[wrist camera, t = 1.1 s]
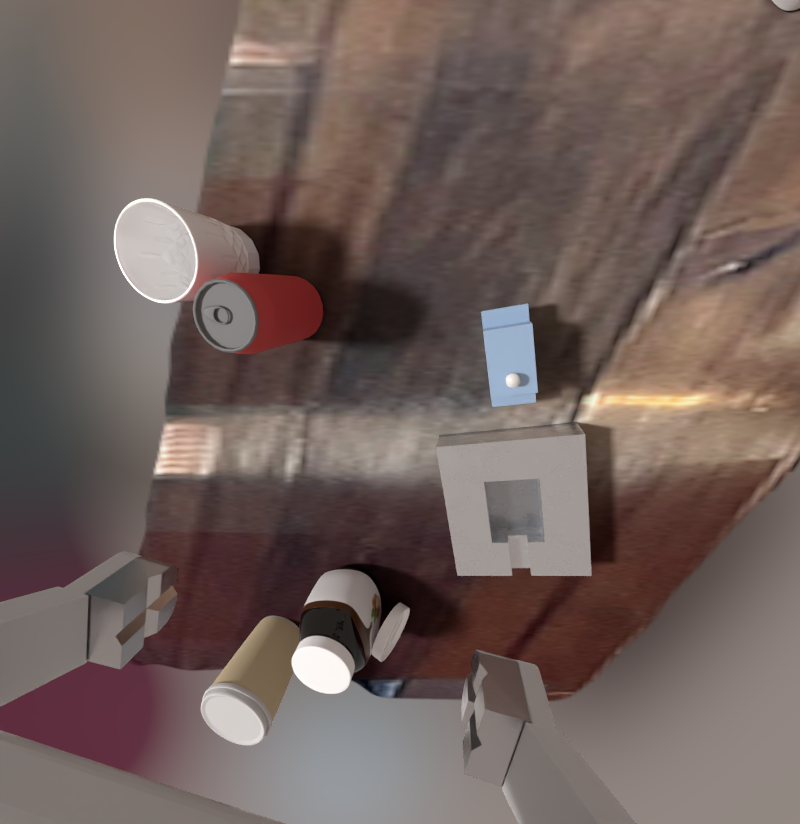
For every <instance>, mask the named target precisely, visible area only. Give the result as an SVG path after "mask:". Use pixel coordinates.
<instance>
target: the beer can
mask: <svg viewBox="0 0 800 824" xmlns="http://www.w3.org/2000/svg"><path fill="white" fill-rule="evenodd" d="M193 313H194V320H195V323H196V325H197V328H198V330H199V332H200V333H201V335H202V336H203V337H204V339H205V340H206V341H207V342H208V343H209V344H211V345H212V346H213V347H214V348H216V349H219V350H221V351H224V352H233V353H240V354H254V353H258V352H261V351H265V350H268V349H272V348H275V347H279V346H282V345H285V344H289V343H292V342H296V341H299V340H303V339H306V338H309V337H310V336H311V335H313V334H314V333H315V332H316V331H317V329H318V328H319V326H320V325H321V321H322V317H323V304H322V301H321V298H320V295H319V293H318V292H317V290H316V289H315V288H314V286H313V285H312V284H310V283H309V282H308V281H307V280H306V279H303V278H300V277H298V276H289V275H272V274H256V273H233V272H231V273H228V274H225V275H223V276H220V277H218V278H216V279H213V280H210V281H207V282H205V283H204V284H203V285H202V286H201V287H200V288H199V289H198V292H197V294H196V296H195V298H194V305H193Z"/></svg>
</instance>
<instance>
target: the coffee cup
mask: <svg viewBox="0 0 800 824" xmlns="http://www.w3.org/2000/svg"><path fill="white" fill-rule="evenodd" d="M298 645H299V628H298V626H297V625H295V624H294V623H293V622H292V621H290V620H288V619H286V618H284V617H280V616H268V617H265V618H264V619H262V620H261V621H260V623H259V624H258V625H257V626H256V628H255V629H254V630H253V631H252V633H251V634H250V635H249V637H248V638H247V639H246V641H245V642H244V643H243V644H242V646H241V647H240V648H239V650H238V651H237V652H236V654H235V655H234V656H233V658H232V659H231V660H230V661H229V663H228V664H227V665H226V667H225V668H224V669H223V671H222V672H221V674H220V675H219V676H218V677H217V679H216V680H215V682H214V683H213V684H212V686H210V687H209V688H208V689H207V690H206V692H205V694H204V696H203V699H202V703H201V712H202V716H203V718H204V720H205V722H206V723H207V724H208V725H209V727H210V728H212V730H213V731H214V732H216V733H217V734H218V735H220V736H222V737H223V738H225V739H226V740H228V741H231V742H233V743H237V744H240V745H253V744H256V743H258V742H260V741H261V740H262V739H263V738H264V737H265V736H266V735H267V734H268V733H269V731H270V728H271V726H272V721H273V719H274V717H275V714H276V712H277V710H278V707H279V705H280V703H281V700H282V698H283V696H284V693H285V691H286V688H287V686H288V684H289V681H290V679H291V676H292V674H293V672H294V671H293V668H292V656H293V654H294V653H295V651H296V649H297V647H298Z"/></svg>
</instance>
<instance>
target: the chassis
mask: <svg viewBox="0 0 800 824" xmlns="http://www.w3.org/2000/svg"><path fill="white" fill-rule="evenodd" d="M436 450H437V456H438V462H439V468H440V474H441V480H442V485H443V491H444V497H445V503H446V509H447V515H448V521H449V527H450V533H451V539H452V545H453V551H454V557H455V563H456V569H457V575H458V576H512V569H511V568H530V571H531V576H591V553H590V530H589V508H588V485H587V462H586V440H585V433H584V432H583V430H582V429H581V427H580V426H579V424H578V423H577V422H576V423H565V424H555V425H544V426H534V427H523V428H513V429H502V430H492V431H481V432H471V433H460V434H450V435H439V439H438V442H437V446H436Z"/></svg>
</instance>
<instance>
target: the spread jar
mask: <svg viewBox="0 0 800 824" xmlns="http://www.w3.org/2000/svg"><path fill="white" fill-rule="evenodd" d="M409 613H410V609H409V608H408V607H407V606H405V605H404V604H402V603H401V602H400V603H398V604H397V605H396V606H395V607H394V608H393V609H392V610H391V612H390V613H389V615H388V616H387V618H386V619H385V621H384V623H383V624H382V626H381V628H380V630H379V632H378V629H379V625H380V619H381V593H380V589H379V586H378V584H377V582H376V581H375V579H374V578H373V577H372V576H371V575H370V574H368V573H367V572H365V571H363V570H360V569H356V568H349V567H345V568H338V569H333V570H330V571H328V572H326V573H324V574H323V575H322V576H321V577H320V579H319V580H318V581H317V583H316V585H315V586H314V588H313V590H312V592H311V594H310V595H309V597H308V599H307V601H306V603H305V605H304V608H303V611H302V614H301V618H300V626H299V645H298V647H297V649H296V651H295V653H294V654H293V656H292V668H293V671H294V672H295V674H296V676H297V677H298V678H299V679H300V680H301V681H302V682H303V683H304V684H305V685H306V686H308V687H310V688H311V689H313V690H315V691H318V692H321V693H327V694H336V693H340V692H342V691H344V690H345V689H347V688H348V686H349V684H350V682H351V679H352V676H353V673H356V672H358V671H360V670H361V669H362V668H363V667H364V666H366V664H367V662H368V660H369V658H370V655H371V653H372V655H373V656H374V657H375V658H377V659H378V660H379V661H380V662H383V661H384V660H385V659H386V658H387V656H388V655H389V654H390V652H391V651H392V649H393V648H394V646H395V644H396V643H397V641H398V639H399V637H400V635H401V633H402V631H403V629H404V627H405V625H406V622H407V620H408V617H409ZM377 633H378V634H377Z"/></svg>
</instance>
